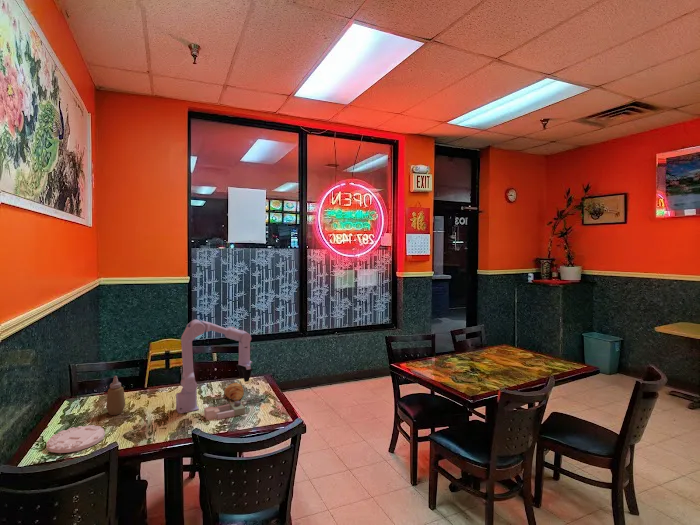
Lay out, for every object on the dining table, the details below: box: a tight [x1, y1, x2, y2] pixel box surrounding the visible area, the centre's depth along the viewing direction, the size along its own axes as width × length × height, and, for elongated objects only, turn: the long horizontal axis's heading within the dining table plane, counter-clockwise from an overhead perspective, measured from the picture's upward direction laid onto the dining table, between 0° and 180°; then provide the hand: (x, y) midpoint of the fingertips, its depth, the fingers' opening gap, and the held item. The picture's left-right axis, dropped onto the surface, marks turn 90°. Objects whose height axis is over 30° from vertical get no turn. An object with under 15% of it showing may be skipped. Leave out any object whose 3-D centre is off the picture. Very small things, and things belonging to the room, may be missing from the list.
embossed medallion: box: [46, 424, 106, 454], centre depth 166 cm, size 20×20×3 cm
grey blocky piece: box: [212, 400, 246, 420], centre depth 196 cm, size 13×10×5 cm
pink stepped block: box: [203, 406, 220, 421], centre depth 192 cm, size 6×5×4 cm
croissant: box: [223, 382, 245, 402], centre depth 218 cm, size 21×10×8 cm, turn 25°
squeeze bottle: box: [105, 375, 126, 416], centre depth 194 cm, size 8×8×18 cm
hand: (244, 379), depth 215 cm, fingers open, 7 cm apart
